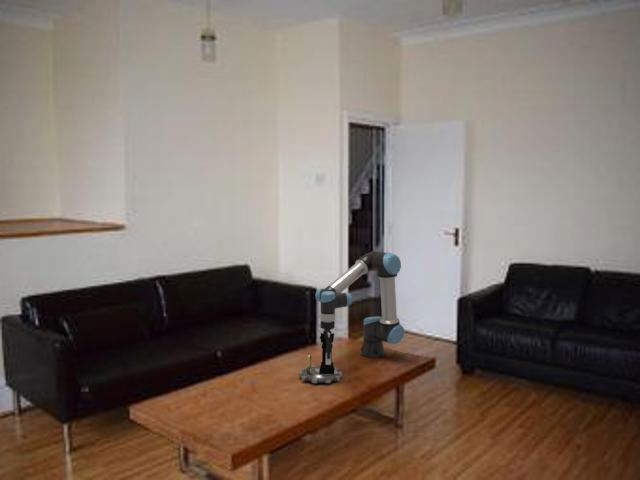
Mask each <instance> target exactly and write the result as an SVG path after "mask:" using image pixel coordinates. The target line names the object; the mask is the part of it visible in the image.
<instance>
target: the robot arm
mask: <svg viewBox="0 0 640 480" xmlns="http://www.w3.org/2000/svg"><path fill="white" fill-rule="evenodd" d="M354 263H355V264H353V265H352V266H351V267H350V268H348V269H347V270H346V271H345V272H344V273H342V274H340V276H339V277H337V278H336V279H335V280H334V281H333V282H331V283H330V284H329V285H327V286H326V287H325V288H319V289H316V292H315V294H314V295H315V300H316V301H317V302H319V303H320V314H319V317H320V320H321V321H320V329H323V331H322V332H323V333H324V337H325V340H326V351H325V353H326V365H331V352H332V350H331V334H332V333H333V332H332V331H331V330H333V329H335V325H336V324H335V319H336V309H341V308H347V307H349V306H351V305H352V304H353V297H352V294H351V293H350V292H343V291H345V290H346V289H347V288H349V287H350V285H352V284H353V283H354V282H355V281H357V280H358V279H359V278H361V277H362V276H363V275H367V274H369V272H376V277H377V278H378V279H379V285H380V287H379V288H380V303H381V304H380V305H381V307H380V308H381V316H369V317H368V316H367V317H365V318H364V319H363V325H362V326H363V327H362V328H363V334H362V335H363V338H362V344H361V346H360V350H359V355H360V356H362V357H365V358H370V359H376V358H377V359H379V358H383V357H385V355H386V350H385V347H384V343H388V344H392V345H398V344H399V343H400V342H401V341H402V339H403V338H404V335H405V328H404V327H403V325H401V324H400V319H399V318H398V317H397V316H398V315H397V297H396V296H397V294H396V278H397V276H398V273H400V272H401V268H402V262H401V260H400V257H399V256H398V255H397V254H394V253H391V252H384V251H383V252H382V251H377V250H373V251H370V252H368V253H365V254H364V255H362V256H360V257H359V258H358V259H357V260H356V261H355V262H354ZM383 342H384V343H383ZM332 353H333V352H332Z"/></svg>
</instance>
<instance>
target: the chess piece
mask: <svg viewBox="0 0 640 480" xmlns="http://www.w3.org/2000/svg"><path fill="white" fill-rule="evenodd" d="M331 333H332V334H331V350H332V349H333V345H334V344H333V343H334V337H335V333H333V332H331ZM319 339H320V343H322V344H321V349H322V351H321V359H322V360H321V362H320V370H319V374H334V370H335V368H336V367H335V366H334V362H332V359H333V358H332V357H333V356H332V355H333V352H331V365H326V353H325V351H326V340H325V337H324V333H322V332H320V336H319Z"/></svg>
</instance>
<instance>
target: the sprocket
mask: <svg viewBox="0 0 640 480" xmlns="http://www.w3.org/2000/svg"><path fill="white" fill-rule="evenodd" d="M320 366H321V365H320ZM320 366H318V365H317V366H316V365H312V355H311V354H307V355H306V367H303V368H301V370H300V371H298V377H299V378H301V380H302V381H304V382H306V381H308V382H311V383H312V384H319V383H325V384H331V382H335V381H337V382H338V381H340V379H341V377H342V376H343V373H342V371H339V368H337V367H334V368H335V370H334V374H319V370H320Z"/></svg>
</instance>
